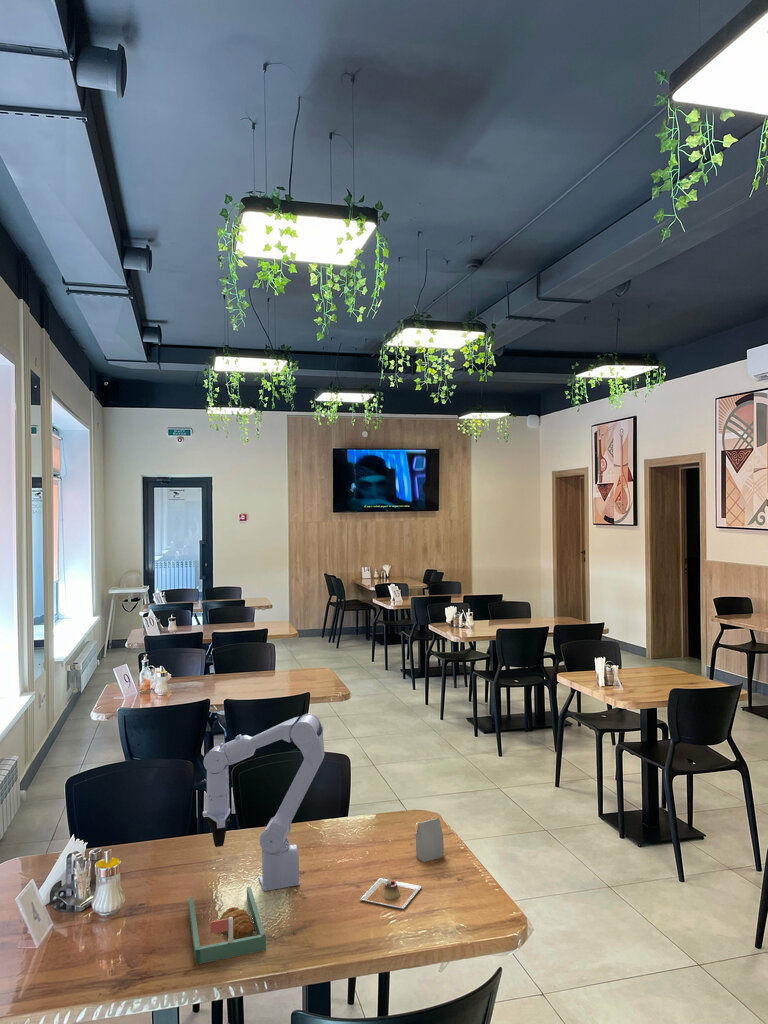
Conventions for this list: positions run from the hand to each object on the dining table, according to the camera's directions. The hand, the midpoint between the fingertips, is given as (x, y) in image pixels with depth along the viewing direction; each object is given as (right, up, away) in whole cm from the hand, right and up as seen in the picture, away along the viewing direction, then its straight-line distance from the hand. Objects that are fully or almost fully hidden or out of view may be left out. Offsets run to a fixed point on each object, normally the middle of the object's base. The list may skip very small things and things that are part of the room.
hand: (219, 845), depth 189 cm
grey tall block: (+57, -9, +11) cm, 58 cm away
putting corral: (+7, -8, -23) cm, 26 cm away
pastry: (+10, -9, -24) cm, 27 cm away
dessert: (+45, -9, -10) cm, 47 cm away
